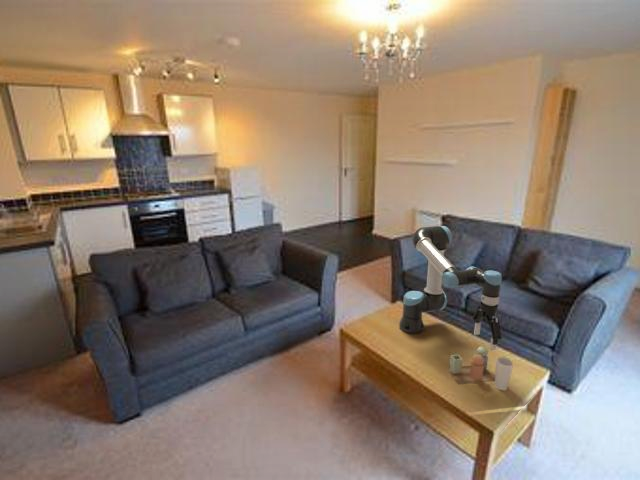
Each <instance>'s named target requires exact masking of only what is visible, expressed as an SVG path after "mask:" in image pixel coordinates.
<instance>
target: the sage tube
mask: <svg viewBox="0 0 640 480" xmlns="http://www.w3.org/2000/svg"><path fill="white" fill-rule="evenodd" d="M463 360H464V359H463V358H462V357H461V355H459V354H451V355H450V361H449V367H450V370H451V371H452V373H453V374H457V373H461V368H462V366H463Z"/></svg>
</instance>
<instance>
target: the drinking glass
mask: <svg viewBox="0 0 640 480" xmlns="http://www.w3.org/2000/svg"><path fill="white" fill-rule="evenodd" d="M513 367H514V363H513V361H512V360H511V359H509V358H508V357H505V356H499V357H497V358H496V363H495V374H494V378H495V381H494V387H495V388H496V389H498V390H500V391H507V390H508V386H509V383H510V379H511V375H512V372H513Z"/></svg>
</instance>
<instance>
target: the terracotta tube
mask: <svg viewBox="0 0 640 480" xmlns="http://www.w3.org/2000/svg"><path fill="white" fill-rule="evenodd" d="M470 365H471V369H470V376H471V377H472V379H473V380H474V381H475V380H482V375H483V368H484V365H483V364H482V365H476V364H474V363H473V360H471V362H470Z"/></svg>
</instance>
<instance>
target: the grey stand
mask: <svg viewBox="0 0 640 480" xmlns="http://www.w3.org/2000/svg"><path fill="white" fill-rule="evenodd" d="M475 355H478V353H477V352H476V353H475ZM483 359H484V363H483V365H484V368H483V371H486V369H487V367H488V361H489V356H488V355H487V356H485V357H483Z"/></svg>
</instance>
